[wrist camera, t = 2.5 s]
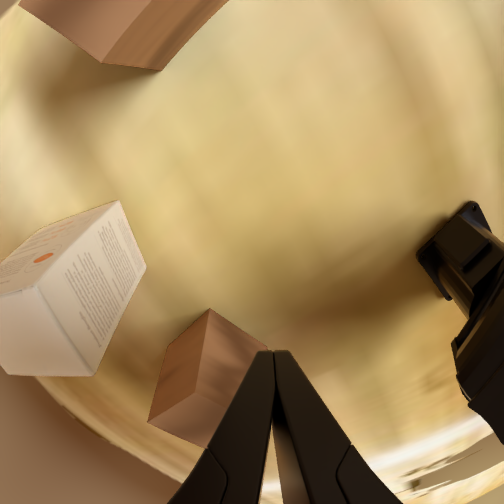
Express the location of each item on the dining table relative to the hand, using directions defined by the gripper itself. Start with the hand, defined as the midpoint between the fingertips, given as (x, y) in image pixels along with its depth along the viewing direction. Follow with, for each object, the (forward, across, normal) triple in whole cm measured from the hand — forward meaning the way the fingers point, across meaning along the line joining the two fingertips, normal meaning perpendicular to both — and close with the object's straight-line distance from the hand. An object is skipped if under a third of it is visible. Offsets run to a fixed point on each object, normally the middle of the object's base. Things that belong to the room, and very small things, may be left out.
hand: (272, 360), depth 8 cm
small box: (+13, +12, +4) cm, 19 cm away
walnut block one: (+13, +4, +13) cm, 19 cm away
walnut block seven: (+13, +6, -12) cm, 19 cm away
